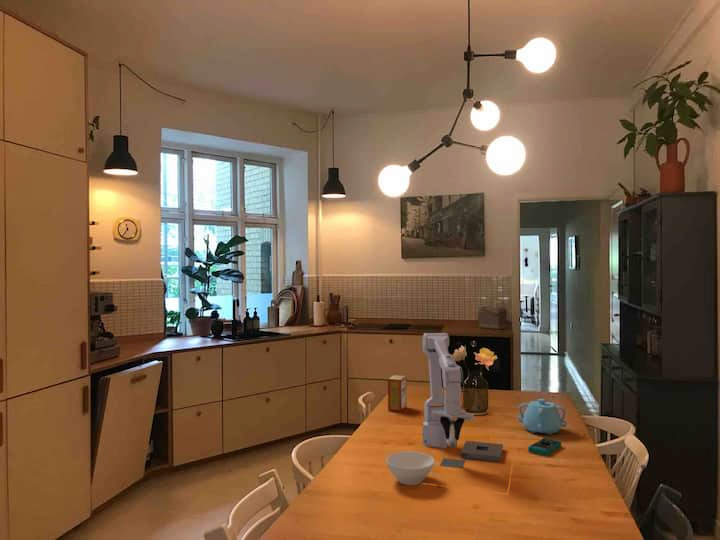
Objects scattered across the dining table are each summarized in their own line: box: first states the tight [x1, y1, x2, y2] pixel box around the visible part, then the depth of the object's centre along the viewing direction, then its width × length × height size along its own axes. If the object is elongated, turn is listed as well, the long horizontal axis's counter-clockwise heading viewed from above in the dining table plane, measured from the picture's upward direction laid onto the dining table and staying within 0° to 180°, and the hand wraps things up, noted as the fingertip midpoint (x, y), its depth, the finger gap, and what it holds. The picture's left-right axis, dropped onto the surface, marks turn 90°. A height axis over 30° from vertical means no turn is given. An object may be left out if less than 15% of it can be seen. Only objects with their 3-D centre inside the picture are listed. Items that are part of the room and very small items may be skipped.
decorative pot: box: [517, 398, 568, 436], centre depth 231 cm, size 16×16×14 cm
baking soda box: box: [387, 374, 407, 413], centre depth 267 cm, size 10×6×16 cm
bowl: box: [385, 450, 435, 486], centre depth 178 cm, size 16×16×7 cm
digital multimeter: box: [527, 437, 562, 457], centre depth 208 cm, size 7×15×3 cm, turn 138°
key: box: [447, 418, 458, 448], centre depth 192 cm, size 3×3×9 cm
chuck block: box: [460, 440, 504, 463], centre depth 202 cm, size 14×14×2 cm
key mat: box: [439, 457, 467, 469], centre depth 193 cm, size 8×8×1 cm
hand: (452, 438), depth 192 cm, fingers closed on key, 3 cm apart
